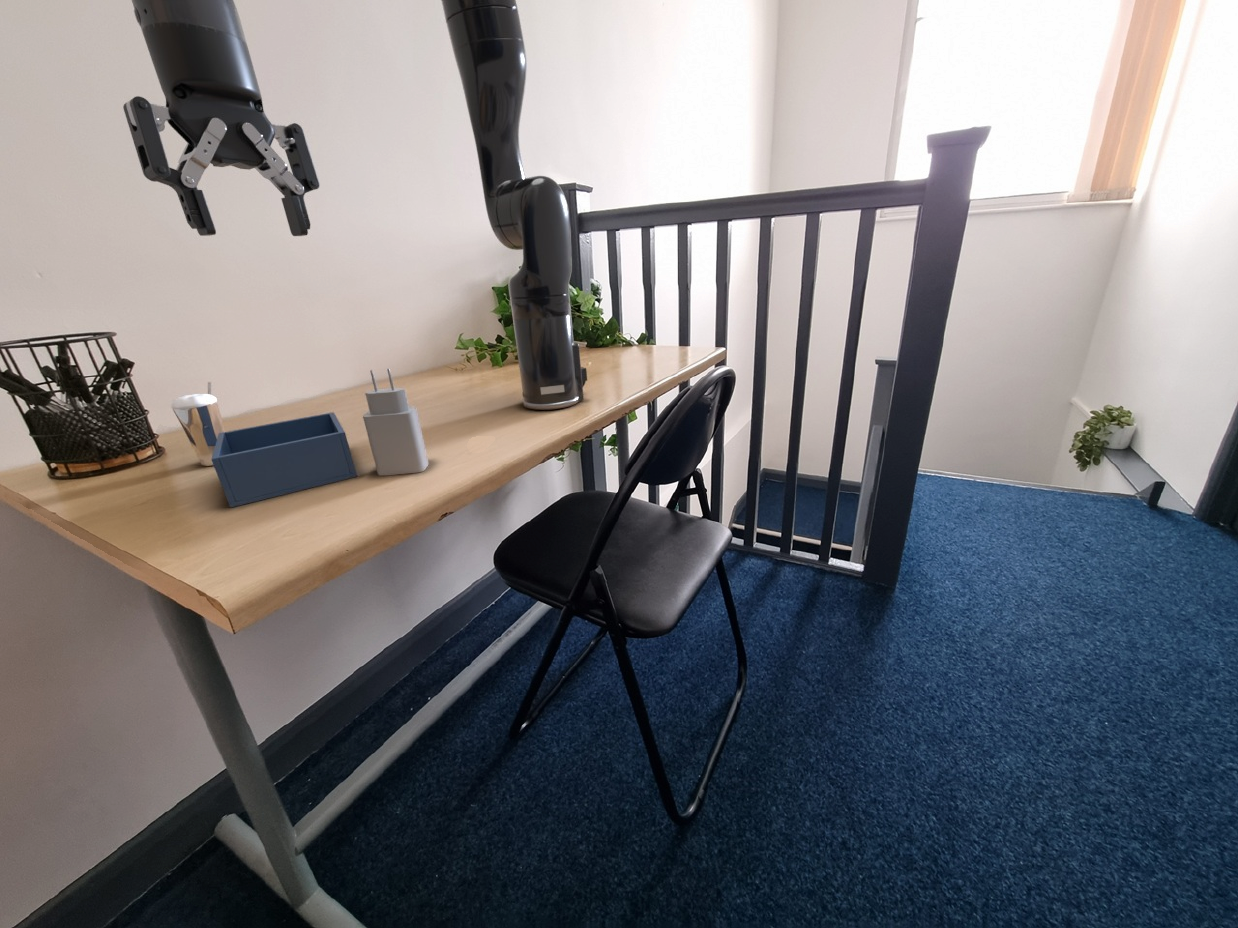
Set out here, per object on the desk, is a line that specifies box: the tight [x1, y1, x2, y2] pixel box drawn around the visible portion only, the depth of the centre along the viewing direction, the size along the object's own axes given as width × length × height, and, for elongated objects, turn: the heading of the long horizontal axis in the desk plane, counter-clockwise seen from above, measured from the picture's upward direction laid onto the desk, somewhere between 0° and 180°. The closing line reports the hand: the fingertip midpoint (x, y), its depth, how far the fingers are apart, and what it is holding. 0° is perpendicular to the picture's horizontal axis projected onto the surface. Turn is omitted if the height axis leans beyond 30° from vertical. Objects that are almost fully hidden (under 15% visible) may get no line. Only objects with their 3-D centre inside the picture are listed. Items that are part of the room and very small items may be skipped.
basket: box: [211, 411, 358, 508], centre depth 58 cm, size 12×11×6 cm
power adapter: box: [362, 368, 429, 477], centre depth 57 cm, size 3×5×12 cm, turn 95°
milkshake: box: [170, 381, 226, 467], centre depth 64 cm, size 4×5×10 cm
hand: (257, 235), depth 50 cm, fingers open, 8 cm apart
